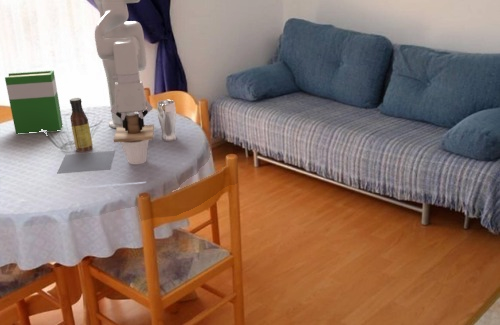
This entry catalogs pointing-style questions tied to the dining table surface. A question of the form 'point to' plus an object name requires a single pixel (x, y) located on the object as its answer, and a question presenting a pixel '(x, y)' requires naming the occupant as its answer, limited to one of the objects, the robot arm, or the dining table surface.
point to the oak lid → (133, 130)
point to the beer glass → (167, 119)
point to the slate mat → (86, 162)
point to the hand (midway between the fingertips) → (134, 128)
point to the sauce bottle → (80, 126)
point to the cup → (135, 151)
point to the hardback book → (34, 101)
